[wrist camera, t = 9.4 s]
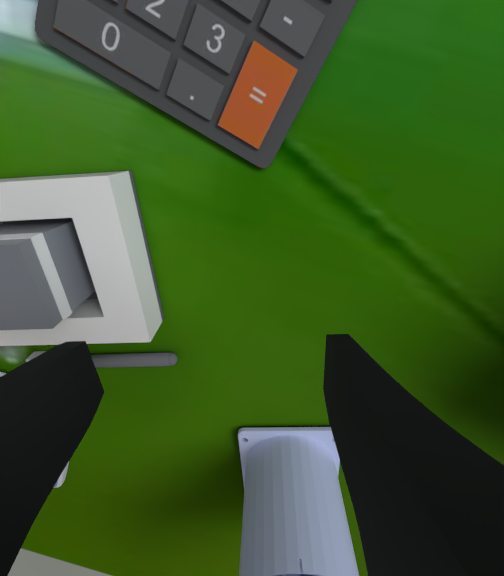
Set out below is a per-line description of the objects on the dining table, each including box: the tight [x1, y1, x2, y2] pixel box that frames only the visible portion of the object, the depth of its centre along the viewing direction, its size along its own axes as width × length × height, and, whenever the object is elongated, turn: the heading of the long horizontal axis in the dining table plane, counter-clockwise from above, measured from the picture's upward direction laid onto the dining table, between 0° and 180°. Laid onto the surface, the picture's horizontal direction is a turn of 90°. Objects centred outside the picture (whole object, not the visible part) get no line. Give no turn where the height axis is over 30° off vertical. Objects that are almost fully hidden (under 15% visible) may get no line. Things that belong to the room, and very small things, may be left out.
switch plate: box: [0, 170, 164, 346], centre depth 17 cm, size 9×14×3 cm, turn 94°
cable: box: [26, 351, 177, 368], centre depth 21 cm, size 1×10×1 cm, turn 93°
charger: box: [0, 218, 96, 330], centre depth 15 cm, size 4×4×5 cm
